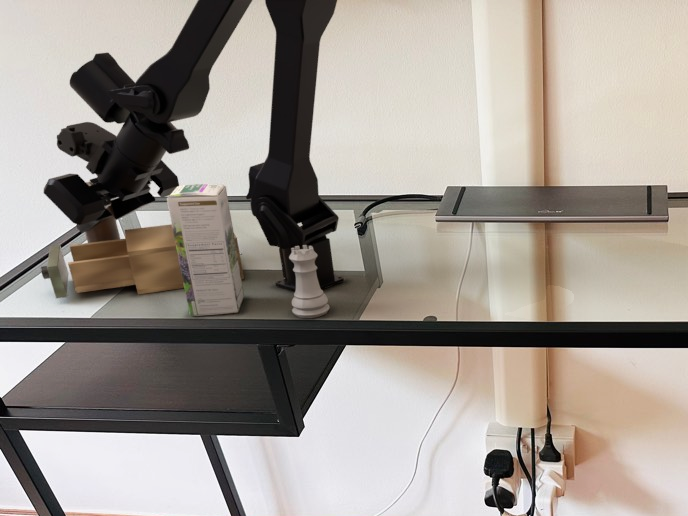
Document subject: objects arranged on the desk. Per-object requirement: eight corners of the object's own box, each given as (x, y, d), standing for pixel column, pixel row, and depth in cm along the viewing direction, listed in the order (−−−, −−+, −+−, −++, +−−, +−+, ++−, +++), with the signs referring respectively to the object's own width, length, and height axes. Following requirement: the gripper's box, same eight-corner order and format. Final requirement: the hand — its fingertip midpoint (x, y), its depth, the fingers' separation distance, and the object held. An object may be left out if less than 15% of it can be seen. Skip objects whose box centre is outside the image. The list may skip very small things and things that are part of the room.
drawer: (45, 300, 102) (35, 268, 100) (48, 276, 110) (39, 247, 108) (162, 283, 108) (155, 253, 106) (157, 262, 116) (150, 233, 114)
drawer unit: (138, 294, 106) (127, 251, 104) (134, 269, 115) (124, 229, 113) (244, 279, 111) (236, 237, 109) (233, 256, 120) (225, 217, 118)
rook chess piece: (320, 320, 98) (311, 255, 94) (285, 317, 99) (275, 252, 95) (336, 307, 102) (328, 243, 98) (302, 304, 102) (293, 241, 99)
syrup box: (198, 300, 104) (173, 184, 97) (246, 297, 105) (225, 182, 98) (189, 317, 99) (163, 196, 92) (241, 313, 100) (218, 193, 93)
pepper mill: (128, 262, 118) (109, 184, 113) (97, 267, 116) (76, 189, 111) (121, 255, 121) (102, 179, 116) (90, 260, 119) (69, 183, 114)
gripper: (143, 93, 115) (100, 169, 124) (32, 112, 100) (-9, 198, 108) (201, 154, 117) (155, 225, 125) (101, 183, 101) (55, 261, 109)
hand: (92, 225), depth 117 cm, fingers closed on pepper mill, 4 cm apart
